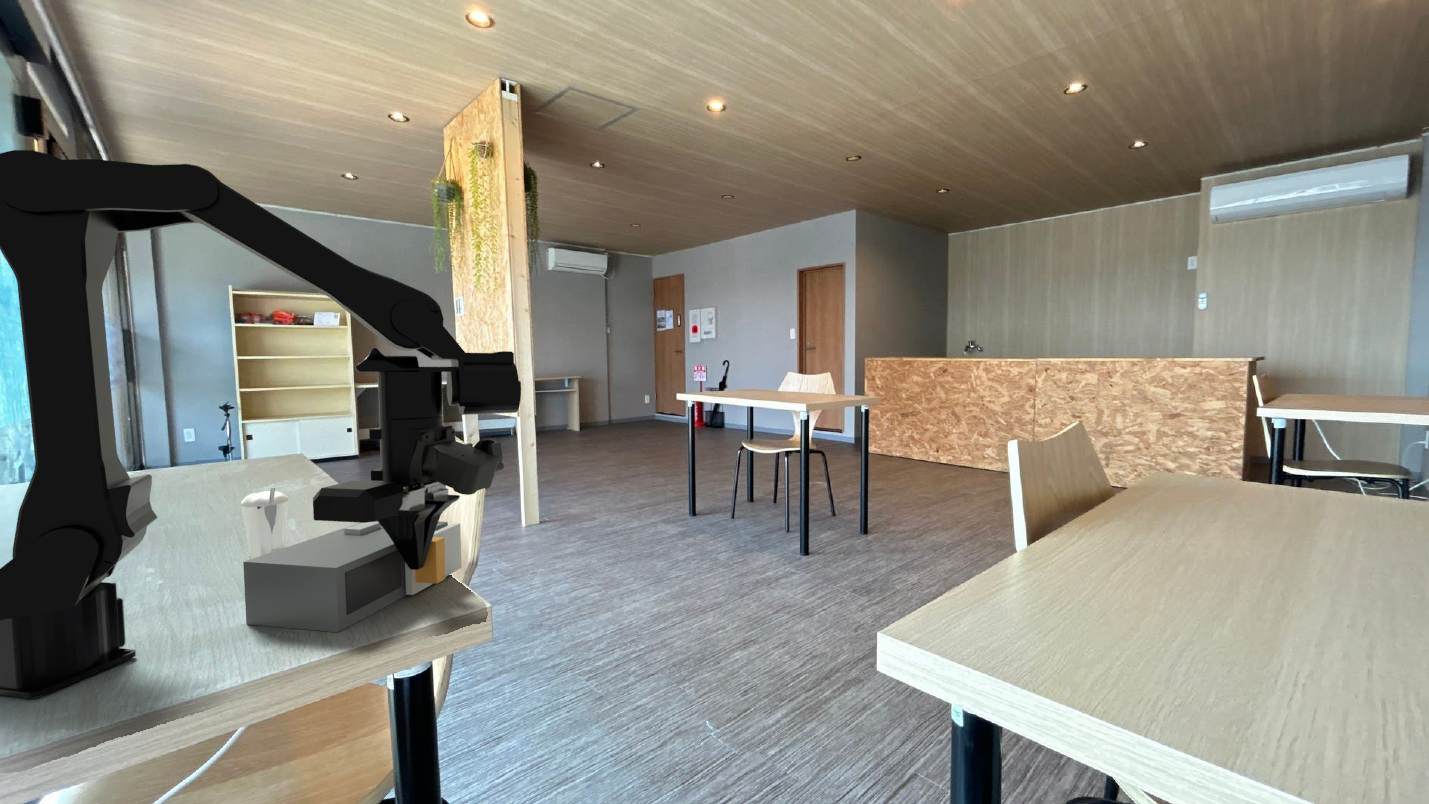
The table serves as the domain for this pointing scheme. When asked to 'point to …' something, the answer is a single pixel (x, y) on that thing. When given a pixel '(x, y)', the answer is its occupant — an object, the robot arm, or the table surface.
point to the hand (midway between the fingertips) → (416, 568)
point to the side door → (437, 560)
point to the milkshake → (265, 522)
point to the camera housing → (326, 580)
